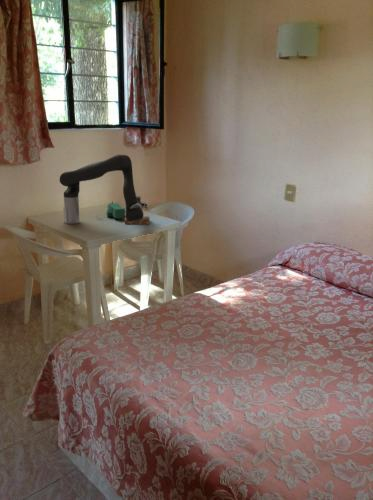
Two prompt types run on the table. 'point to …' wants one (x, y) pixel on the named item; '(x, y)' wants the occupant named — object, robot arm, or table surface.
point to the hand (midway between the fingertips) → (137, 203)
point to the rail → (139, 221)
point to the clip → (138, 198)
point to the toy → (115, 211)
